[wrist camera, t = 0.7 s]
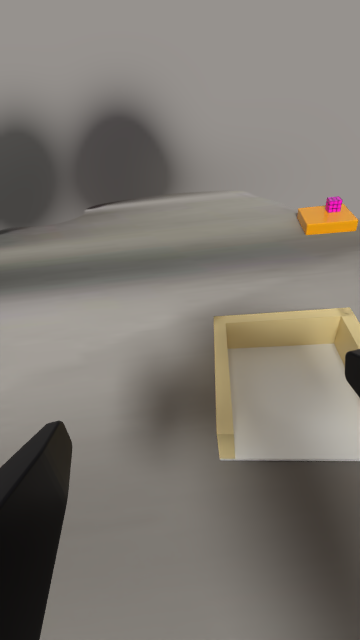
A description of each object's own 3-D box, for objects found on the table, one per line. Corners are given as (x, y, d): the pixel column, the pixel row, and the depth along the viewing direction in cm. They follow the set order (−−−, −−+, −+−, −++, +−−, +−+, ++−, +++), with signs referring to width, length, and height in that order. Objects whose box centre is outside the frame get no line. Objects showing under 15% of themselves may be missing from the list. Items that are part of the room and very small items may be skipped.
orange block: (355, 233, 49) (361, 207, 47) (305, 237, 51) (308, 213, 48) (341, 215, 55) (346, 192, 53) (296, 219, 57) (299, 197, 54)
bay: (405, 461, 21) (426, 432, 19) (219, 460, 23) (216, 434, 21) (341, 337, 31) (349, 307, 29) (216, 343, 33) (213, 316, 31)
